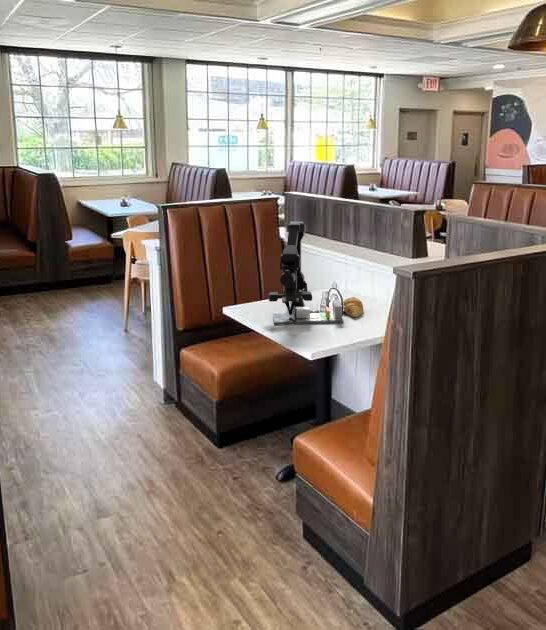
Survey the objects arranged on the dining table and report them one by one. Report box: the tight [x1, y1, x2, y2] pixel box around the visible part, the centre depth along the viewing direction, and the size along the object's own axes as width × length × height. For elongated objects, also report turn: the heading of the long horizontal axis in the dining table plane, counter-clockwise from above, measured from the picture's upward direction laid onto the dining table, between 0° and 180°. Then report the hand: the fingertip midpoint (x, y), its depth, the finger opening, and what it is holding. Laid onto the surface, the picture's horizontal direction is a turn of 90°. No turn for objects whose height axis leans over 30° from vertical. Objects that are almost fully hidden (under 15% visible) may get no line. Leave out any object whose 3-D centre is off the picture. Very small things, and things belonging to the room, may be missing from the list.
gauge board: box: [272, 299, 345, 326], centre depth 276 cm, size 13×30×7 cm, turn 92°
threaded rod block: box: [293, 306, 320, 318], centre depth 276 cm, size 4×11×4 cm, turn 92°
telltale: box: [324, 306, 331, 318], centre depth 277 cm, size 7×1×3 cm, turn 2°
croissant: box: [342, 296, 364, 318], centre depth 286 cm, size 21×10×8 cm, turn 2°
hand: (290, 315), depth 277 cm, fingers closed
